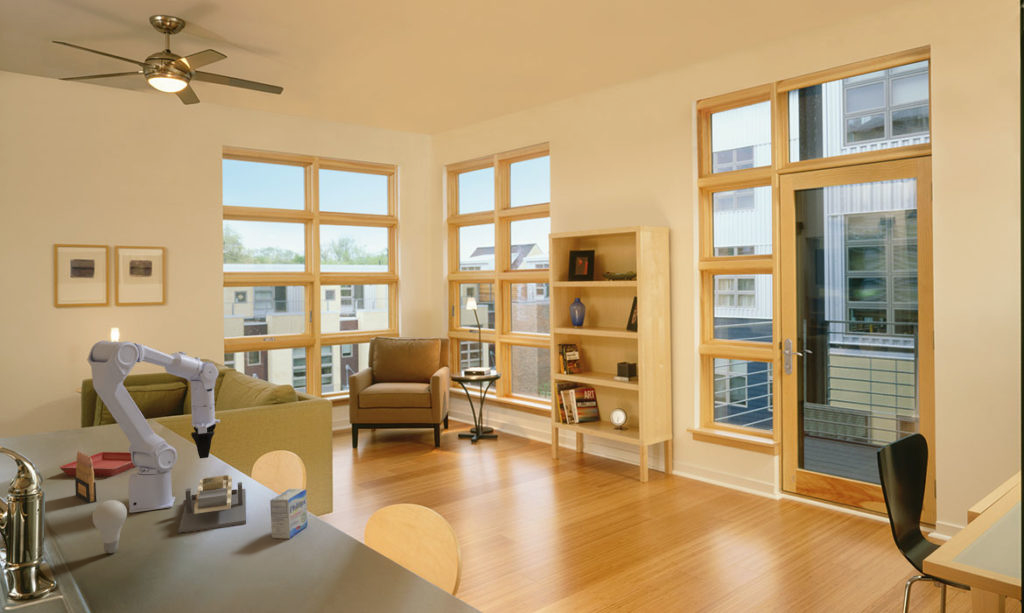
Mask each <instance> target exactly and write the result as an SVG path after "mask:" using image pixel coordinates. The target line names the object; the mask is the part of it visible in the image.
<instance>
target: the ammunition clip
mask: <svg viewBox="0 0 1024 613" xmlns="http://www.w3.org/2000/svg"><path fill="white" fill-rule="evenodd" d="M90 456H91V455H90ZM90 456H89V455H87V453H84V452H82V451H80V450H79V451H78V452H77V454H76V461H77V465H76V476H74V479H75V480H74V481H75V485H74V486H75V497H77V498H79V499H80V500H82V501H84V502H85V503H86V504H93V503H96V502H97V485H96V481H95V476H94V471H93V463H92V459H91V457H90Z"/></svg>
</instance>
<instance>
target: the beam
mask: <svg viewBox="0 0 1024 613" xmlns="http://www.w3.org/2000/svg"><path fill="white" fill-rule="evenodd" d="M222 476H223V486H224V488H220V489H212V490H204V491H203V485H202V484H203V479H206V478H214V477H222ZM203 479H199V484H198V487H197V493H196V494H191V496H192V500H196V501H195V506H194V514H196V513H203V512H210V511H218V510H225V509H231V493H232V495H235V494H237V490H238V488H237V489H233V476H232V475H229V474H225V475H216V476H209V477H203Z"/></svg>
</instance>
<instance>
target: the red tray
mask: <svg viewBox="0 0 1024 613" xmlns="http://www.w3.org/2000/svg"><path fill="white" fill-rule="evenodd" d="M90 457H91V459H92V463H93V471H94V477H114V476H117V475H119V474H121V473H125V472H127V471H129V470H131V468H132V469H134V468H137V467H136V466H135V465H134V464H133V463H132V460H131V453H130V451H128V452H123V451H120V452H119V451H117V452H116V451H114V452H113V451H102V452H98V453H95V454H93V455H90ZM76 465H77V460H75V461H72V462H69V463H66V464H63V465H61V466H59V469H60V470H61V471H62V472H64V473H66V474H67V475H68V476H74V477H76Z"/></svg>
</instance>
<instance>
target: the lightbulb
mask: <svg viewBox="0 0 1024 613" xmlns="http://www.w3.org/2000/svg"><path fill="white" fill-rule="evenodd" d="M127 515H128V510H127V507H126V506H125V504H124V503H123V502H122V501H121V502H120V501H119V500H114V499H111V500H106V501H103V502H101V503H100V504H99V505H98V506H97V507H95V509H94V511H93V513H92V522H93V525H94V526H95V527H96V529H97V530H98V532H99V535H100V536H101V541H102V543H103V544H102V545H103V550H104V552H105V553H108V554H111V555H112V554H115V552H116V551H117V550H118V549H119V546H120V545H119V540H120V537H121V536H120V535H121V530H122V527H123V525H124V523H125V521H126V519H127Z"/></svg>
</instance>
